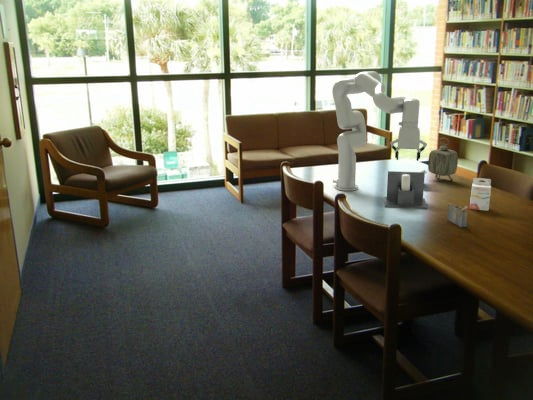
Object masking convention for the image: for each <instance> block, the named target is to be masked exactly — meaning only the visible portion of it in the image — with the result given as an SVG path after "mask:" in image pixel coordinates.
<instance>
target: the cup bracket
mask: <svg viewBox="0 0 533 400" xmlns="http://www.w3.org/2000/svg"><path fill="white" fill-rule="evenodd" d="M403 174H408V175H410V191H402V190H401V187H402V175H403ZM386 181H387V182H386V183H387V184H386V196H384V199H383V200H384V208H398V209H401V208H402V209H418V210H419V209H420V210H421V209H423V210H427V208H428V206H427V201H426V199H425V198H424V191H425V190H424V189H425V188H424V187H425V172H421V171H397V170H396V171H392V170H391V171H389V170H387V180H386Z"/></svg>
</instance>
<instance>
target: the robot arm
mask: <svg viewBox="0 0 533 400" xmlns="http://www.w3.org/2000/svg"><path fill="white" fill-rule="evenodd" d="M385 91H386V85H385V84H384V83H383V82H382V77H381V75H380V73H379V72H377V71H374V70H371V71H370V70H369V71H360V72H359V73H357V74H356V75H355V77H346V78H345V77H343V78H340V79H338V80H336V81H335V82H334V85H333V87H332V98H333V102H334V105H335V114H336V121H337V126H338V127H339V129H341V130H349V131H344V132H342V133H340V134H339V135H338V137H337V138H336V142H337V149H338V171H337V172H338V173H337V175H338V176H337V178H333V180H332V183H334V184H335V183H336V184H335V187H334V188H335V189H336V190H339V191H345V192H346V191H348V192H349V191H352V192H353V191H356V190H358V188H359V186H358V184H356V173H357V172H356V171H357V165H356V164H357V156H356V153H355V150H354V149H358V148H361V147H364V146H365V145H366V144H367V142H368V135H367V127H366V120H365V119H366V118H365V117H364V114H363V112H361V111H359V110H353V109H352V102H351V100H350V98H349V97H348V95H355V94H362V93H366V94H367V95H368V96H370V97H371V98H372V101H373V103H374V105H375V106H376V107H377V108H378V109H379V110H381V111H382V112H384V113H385V114H391V115H392V114H400V113H402V116H401V121H400V122H399V121H398V126H400V128H399V130H398V137H397V139H395V140H391V141H390V143H389V144H390V147H391V149H392V150H394V152H395V153H394V154H395V155H394V158H395V159H396V161H399V151H400V150H402V149H403V150H416V161H417V162H419V160H420V159H421V154H422V152H423V151H424V150H425V149H426V147H427V145H428V143H427V142H425V141H423V140H421V133H420V132H421V130H420V128H419V119H420V118H419V115H420V104H421V103H420V99H417V98H409V97H405V96H395V97H389V96H388V95H386V94H385ZM395 144H397V147H396V146H395ZM420 144H421V145H422V146H421V147H420Z"/></svg>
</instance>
